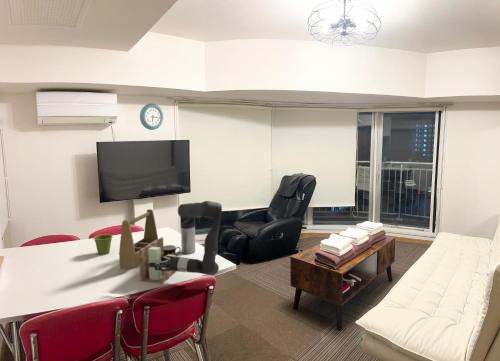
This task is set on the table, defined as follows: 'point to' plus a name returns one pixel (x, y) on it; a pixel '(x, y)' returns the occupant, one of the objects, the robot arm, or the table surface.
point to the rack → (145, 263)
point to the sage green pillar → (154, 258)
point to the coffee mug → (170, 250)
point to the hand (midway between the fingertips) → (153, 261)
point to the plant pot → (103, 243)
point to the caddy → (130, 250)
